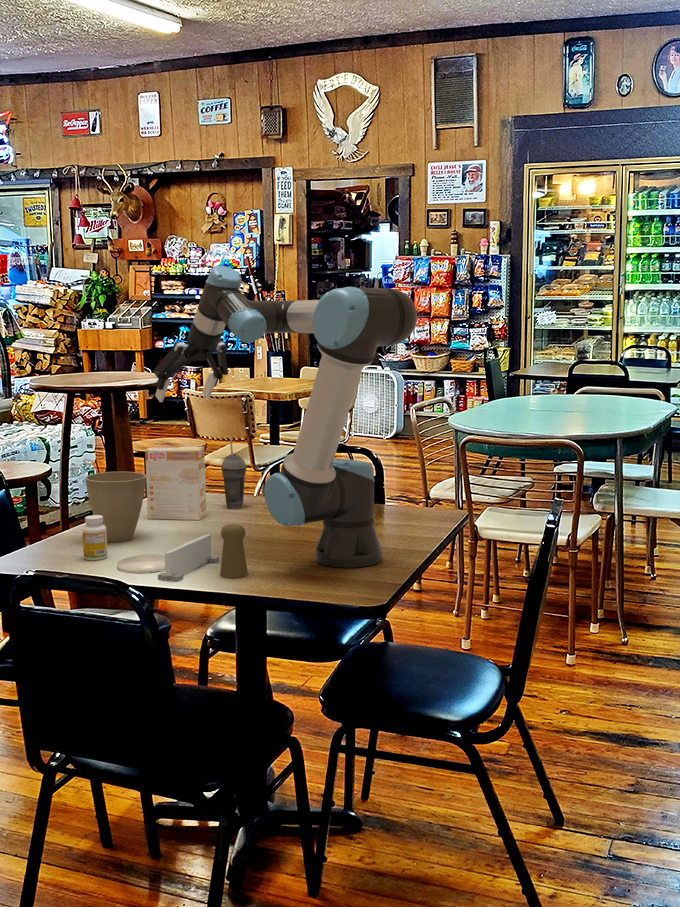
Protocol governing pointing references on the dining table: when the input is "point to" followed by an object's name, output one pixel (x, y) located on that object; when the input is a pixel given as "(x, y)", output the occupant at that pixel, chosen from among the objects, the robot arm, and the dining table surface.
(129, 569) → the ceramic saucer
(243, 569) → the brown pawn
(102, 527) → the supplement bottle
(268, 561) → the dining table surface
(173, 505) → the coffeecake box
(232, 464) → the beverage cup
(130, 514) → the plant pot
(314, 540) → the dining table surface
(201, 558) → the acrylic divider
